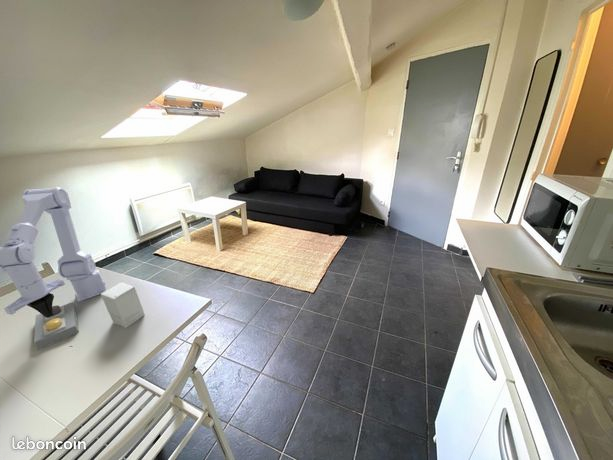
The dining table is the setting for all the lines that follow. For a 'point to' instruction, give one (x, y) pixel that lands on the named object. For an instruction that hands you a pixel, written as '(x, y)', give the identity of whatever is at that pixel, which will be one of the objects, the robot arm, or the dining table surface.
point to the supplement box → (123, 304)
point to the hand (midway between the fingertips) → (48, 315)
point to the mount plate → (52, 336)
